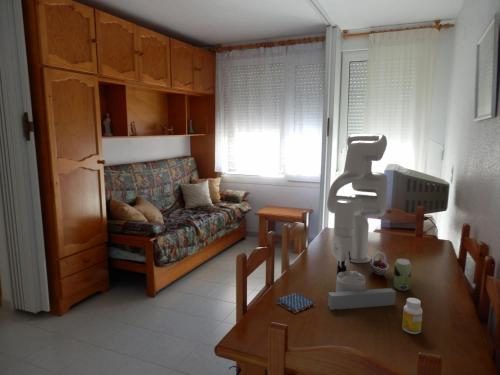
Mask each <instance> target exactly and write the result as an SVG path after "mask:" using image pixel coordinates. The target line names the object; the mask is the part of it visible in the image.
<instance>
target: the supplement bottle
mask: <svg viewBox="0 0 500 375" xmlns="http://www.w3.org/2000/svg"><path fill="white" fill-rule="evenodd" d="M405 303H406V304H405V305H404V306H403V314H402V325H401V327H402V330H403V331H405V332H406V333H408V334H412V335H417V334H419V333H421V332H422V322H423V309H422V307H421V300H420V299H418V298H416V297H408V298H406V302H405Z"/></svg>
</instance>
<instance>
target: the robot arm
mask: <svg viewBox="0 0 500 375" xmlns="http://www.w3.org/2000/svg"><path fill="white" fill-rule="evenodd" d="M346 143H347V144H346V145H347V149H346V150H347V151H346V155H345V162H344V168H343V172H342V174H340V175H339V176H337V178H336V179H335V180H334V181H333V182H332V184H331V185H330V188H329V192H328V197H327V202H326V207H327V210H328V212H329V213H331V214H334V219H333V220H334V222H333V235H332V242H331V243H332V244H331V255H332V256H333V257H334V258H335V259H336V265H337V266H336V267H337V268H336V269H337V270H336V275H338V273H339V272H344V271H347V268H348V266H350V263H356V264H366V263H369V262H370V261H371V257H370V256H369V255H368V247H369V246H368V244H369V229H370V228H369V222H368V219H367V218H366V217H365V216H369V217H370V216H371V217H383V216H384V215H385V213H386V211H387V210H386V209H387V199H388V197H387V196H388V184H389V182H388V177H387V175H386V174H385V173H384V172H375V171H373V170H372V168H373V167H372V165H373V162H374V161H375V162H378V161H379V162H380V161H381V160H382V158H383V156H384V154H385V152H386V149H387V146H388V140H387V137H386V136H385V134H382V133H381V134H380V133H354V134H350V135H349V136H347V139H346ZM349 184H351V188H352V190H354V192H355V191H356V192H360V194H358V193H357V194H350V196H347V195H338V191H339V190H340V189H342V188H343V187H344V186H346V185H349ZM362 192H363V193H372V195H369V194H361V193H362ZM373 194H376V195H373Z"/></svg>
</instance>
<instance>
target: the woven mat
mask: <svg viewBox="0 0 500 375" xmlns="http://www.w3.org/2000/svg"><path fill="white" fill-rule="evenodd" d="M275 302H276V304H277V305H279V306H280V307H282V308H285V309H286V310H287V311H289V310H290V312H291V311H292V313H293V312H294V313H293V314H295V313H300V312H299V311H301V310H303V311H305V310H306V308H308V307H309V308H308V309H310V308H311V307H310V306H312V305H313V306H312V307H315V306H316V302H315V301H314V300H311V298H308V297H307V296H304V295H302V294H301V293H298V292H295V293H291V294H289V295H285V296H282V297H280V298H277V299H276V301H275ZM304 309H305V310H304Z"/></svg>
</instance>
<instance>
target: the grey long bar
mask: <svg viewBox="0 0 500 375" xmlns="http://www.w3.org/2000/svg"><path fill="white" fill-rule="evenodd" d="M327 294H328V295H327V307H328V306H329V307H328V309H329V310H330V311H333V310H335V309H337V310H346V309H348V308H349V309H358V308H360V309H361V308H373V307H384V306H385V307H386V306H395V305H396V296H397V295H396V294H397V291H396V290H394V289H393V288H392V287H390V288H375V289H373V288H372V289H365V290H358V291H343V292H336V291H333V292H331V291H330V292H327Z"/></svg>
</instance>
